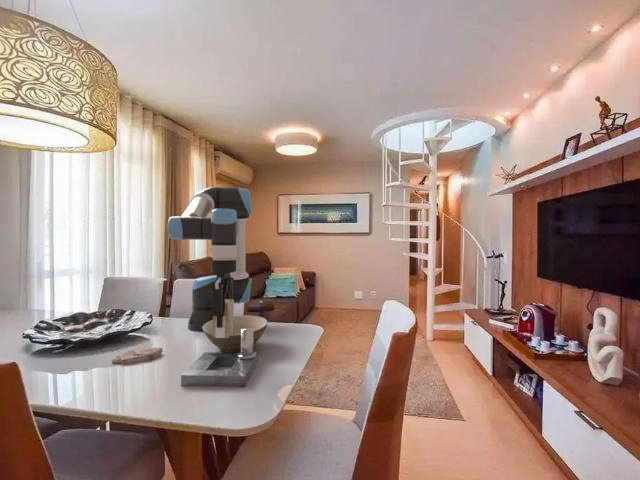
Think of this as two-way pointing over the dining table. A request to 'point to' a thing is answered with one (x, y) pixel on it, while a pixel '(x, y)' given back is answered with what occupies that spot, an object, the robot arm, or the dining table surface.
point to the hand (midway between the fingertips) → (223, 334)
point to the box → (226, 319)
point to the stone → (138, 355)
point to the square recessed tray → (207, 376)
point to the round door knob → (246, 344)
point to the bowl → (237, 332)
